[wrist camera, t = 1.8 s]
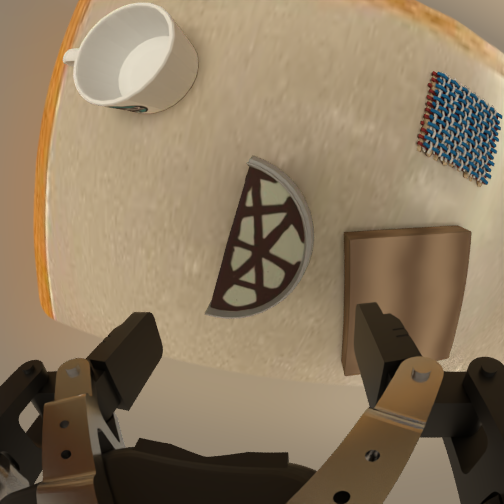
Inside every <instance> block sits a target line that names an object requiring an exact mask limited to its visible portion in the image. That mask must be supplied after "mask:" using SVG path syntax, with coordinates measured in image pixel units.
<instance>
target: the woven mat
mask: <svg viewBox="0 0 504 504" xmlns="http://www.w3.org/2000/svg"><path fill="white" fill-rule="evenodd" d="M432 75H433V77H432V78H431V80H432V84H431V83H429V84H428V86H429V87H430V88H431V89H430V90H429V92H430V95H427V98H428V99H429V100H428V101H427V108H426V109H425V111H426V113H425V114H424V117H425V118H424V121H421V125H423V127H422V128H421V134H419V136H418V137H419V141H418V143H417V144H418V147H417V151H419V152H420V151H421V148H423V151H424V152H425V151H426V150H427V152H426V155H427V156H428V157H430V156H431V154H432V153H433V154H434V158H433V159H434V160H436V161H437V160H438V157H441V159H440V160H441V161H442V163H443V165H447V161H449V166H451V167H453V166H455V169H456V170H458V171H461V170H462V171H464V174H463V176H464V177H465V178H467V177H468V176H469V175H470V178H469V180H470V181H472V178H476V179H477V185H478V186H479V187H481V185H482V183H484V184H486V185H487V184H488V181H486V179H485V178H486V177H488V178H490V179H491V175H490V174H488V173H486V172H485V171H487V172H491V169H490V168H489V167H488V165H489V166H491V165H492V166H494V163H493V162H492V161H490V160H493V159H494V157H493V156H492V155H491V154H492V152H494V153H495V154H496V153H497V151H496V150H495V149H493V148H494V147H496V144H494V142H495V140H496V141H497V142H499V139H498V138H497V137H495V136H498V133H497V132H496V131H497V130H501V127H500V126H498V124H500V121H498V117H500V118H501V119H502V115H501V114H499V113H497V112H496V110H495V108H493V107H494V106H493V105H492V106H491V107H490V106H489V104H488V106H487V105H486V102H484V98H483V99H482V100H481V99H480V97H479V96H478V95H477V96H478V98H477V96H476V93H475V92H474V93H472V92H471V91H470V89H469V88H468V90H467V88H466V87H467V86H466V85H465V86H464V87H462V83H460V85H459V84H458V83H457V82H456V79H455V78H454V80H451V77H450V76H449V75H448V77H447V76H446V73H445V72H444V74H443V73H442V72H441V73H440V72H438V73H436V72H434V71H433V72H432ZM446 89H447V90H446ZM446 99H447V100H446ZM453 100H454V101H453ZM433 101H434V102H433ZM461 105H462V106H461ZM451 112H452V113H451ZM431 114H432V115H431ZM433 115H434V117H433ZM473 120H474V121H473ZM430 121H432V123H431V122H430ZM438 125H439V127H438ZM485 129H486V130H485ZM446 130H447V131H446ZM436 132H438V133H436ZM426 134H428V136H427V135H426ZM453 134H454V135H455V136H454V135H453ZM434 138H435V139H436V140H434ZM470 138H471V139H470ZM424 140H425V142H424ZM451 141H453V142H454V144H453V143H452V142H451ZM483 141H484V142H483ZM427 143H428V144H427ZM491 147H493V148H491ZM450 148H452V150H451V149H450ZM425 149H426V150H425ZM466 150H467V151H468V152H466ZM448 154H449V155H450V156H451V157H450V156H449V155H448ZM482 154H483V155H482ZM472 155H473V156H472ZM464 157H466V158H467V159H465V158H464ZM488 158H489V159H490V160H488ZM463 163H464V164H465V165H463ZM486 164H487V165H486ZM479 166H480V168H479ZM476 172H478V174H477V173H476ZM484 177H485V178H484Z"/></svg>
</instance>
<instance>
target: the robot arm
mask: <svg viewBox="0 0 504 504" xmlns="http://www.w3.org/2000/svg"><path fill="white" fill-rule="evenodd" d="M162 353H163V346H162V342H161V339H160V336H159V332H158V329H157V325H156V322H155V318H154V316H153V314H152V313H150V312H134V313H132V314H131V315H130V316H129V317H128V318H127V319H126V320H125V322H124V323H123V324H121V325H120V326H118V327H116V328H115V329H114V330H113V331H112V332H111V333H110V334H109V335H108V337H106V338H105V339H104V340H103V342H101V343H100V344H99V345H98V346H97V347H96V348H95V349H94V351H93V352H92V353H91V354H90V355H89V356H88V357H87V358H86V359H84V358H75V359H71V360H68V361H66V362H65V363H63V364H62V365H61V366H60V367H59V368H58V370H57V371H54V372H47V371H46V369H45V367H44V365H43V363H42V362H41V361H39V360H31V361H28V362H26V363H24V364H23V365H21V366H20V367H19V368H18V369H17V370H16V371H15V372H14V373H13V374H12V375H11V376H10V377H9V378H8V379H7V380H6V381H5V382H4V383H3V384H2V385H1V386H0V504H383V502H384V501H385V499H386V498H387V496H388V494H389V493H390V491H391V490H392V488H393V487H394V485H395V483H396V482H397V480H398V478H399V476H400V475H401V473H402V471H403V469H404V467H405V466H406V464H407V462H408V460H409V458H410V456H411V454H412V452H413V450H414V448H415V446H416V444H417V442H418V440H419V438H420V437H442V438H443V441H444V444H445V447H446V450H447V454H448V457H449V460H450V464H451V467H452V471H453V474H454V478H455V482H456V486H457V490H458V494H459V498H460V502H461V504H504V365H503V364H502V363H501V362H500V361H498V360H496V359H494V358H490V357H479V358H476V359H474V360H473V361H472V362H471V363H470V364H469V367H468V369H467V372H445V371H443V368H442V366H441V365H440V364H439V363H438V362H437V361H435V360H433V359H431V358H428V357H423V356H422V355H421V353H420V351H419V350H418V348H417V346H416V345H415V343H414V341H413V340H412V338H411V337H410V336H409V333H408V332H407V330H406V329H405V327H404V325H403V324H402V322H401V321H400V319H398V318H397V317H395V316H394V315H392V314H391V313H388V314H383V312H382V310H381V309H380V307H379V305H378V304H377V302H371V303H361V304H357V305H356V312H355V328H354V353H355V357H356V360H357V363H358V367H359V370H360V373H361V377H362V380H363V384H364V387H365V391H366V395H367V398H368V402H369V406H370V407H369V408H368V409H367V410H366V411H365V412H364V413H363V415H362V416H361V418H360V419H359V420H358V421H357V423H356V424H355V426H354V427H353V428H352V430H351V431H350V432H349V434H348V435H347V436H346V438H345V439H344V440H343V441H342V443H341V444H340V445H339V446H338V447H337V449H336V450H335V451H334V452H333V454H332V455H331V456H330V457H329V458H328V459H327V461H326V462H325V463H324V464H323V465H322V466H321V468H320V469H319V470H318V471H316V470H313V469H311V468H308V467H305V466H302V465H298V464H293V463H289V457H288V452H287V453H286V452H285V453H284V452H282V453H261V452H260V453H259V452H246V453H238V454H231V455H223V456H214V457H204V456H201V455H198V454H195V453H192V452H190V451H187V450H185V449H182V448H179V447H177V446H174V445H172V444H168V443H162V442H156V441H152V440H147V439H142V438H139V440H138V442H137V443H136V445H135V447H128V448H125V445H124V442H123V438H122V434H121V430H120V426H119V422H118V418H117V416H116V414H115V412H114V411H115V410H116V408H118V409H123V410H128V411H129V410H130V408H131V406H132V405H133V403H134V401H135V400H136V398H137V396H138V395H139V393H140V392H141V390H142V388H143V387H144V385H145V383H146V382H147V380H148V379H149V377H150V375H151V374H152V372H153V370H154V369H155V367H156V365H157V364H158V362H159V361H160V359H161V357H162ZM30 401H31V402H32V403H33V405H34V407H35V408H36V410H37V411H38V412H39V414H40V415H39V416H38V418H37V419H36V420H35V421H34V423H33V424H32V425H31V427H30V428H29V429H28V431H27V432H26V433H25V432H24V430H23V429H22V428H21V426H20V424H19V415H20V413H21V412H22V411H23V410H24V408H25V407H26V406H27V404H28V403H29V402H30ZM42 470H43V481H42V482H39V483H37V484H34V483H35V481H36V479H37V478H38V476H39V474H40V473H41V471H42Z"/></svg>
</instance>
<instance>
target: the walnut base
mask: <svg viewBox="0 0 504 504" xmlns="http://www.w3.org/2000/svg"><path fill="white" fill-rule="evenodd" d="M470 245H471V231H469V230H467V229H464V228H462V227H460V226H440V227H422V228H405V229H388V230H373V231H357V232H344V253H345V291H344V325H343V344H342V359H341V361H342V366H343V370H344V375H345V376H350V375H359V374H361V373H360V370H359V367H358V363H357V360H356V357H355V353H354V328H355V312H356V305H357V304H361V303H371V302H377V304H378V305H379V307H380V309H381V310H382V312H383V314H388V313H391V314H392V315H394V316H395V317H397V318H398V319H400V321H401V322H402V324H403V325H404V327H405V329H406V330H407V332H408V333H409V336H410V337H411V338H412V340H413V341H414V343H415V345H416V346H417V348H418V350H419V351H420V353H421V355H422V356H423V357H428V358H431V359H433V360H435V361H438V360H442V359H447V358H449V354H450V351H451V348H452V344H453V340H454V337H455V333H456V329H457V324H458V320H459V316H460V311H461V306H462V301H463V296H464V290H465V284H466V278H467V271H468V263H469V255H470Z"/></svg>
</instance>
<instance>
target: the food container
mask: <svg viewBox="0 0 504 504" xmlns="http://www.w3.org/2000/svg"><path fill="white" fill-rule="evenodd" d="M247 164H248V166H249V170H248V173H247V175H246V180H245V184H244V188H243V191H242V194H241V198H240V201H239V204H238V208H237V211H236V215H235V218H234V222H233V225H232V228H231V231H230V235H229V238H228V242H227V245H226V249H225V253H224V257H223V261H222V264H221V268H220V271H219V275H218V279H217V282H216V286H215V290H214V293H213V297H212V300H211V302H210V304H209V306H208V308H207V310H206V312H205V314H206V315H209V316H213V317H219V318H227V319H229V318H244V317H250V316H253V315H256V314H259V313H262V312H264V311H266V310H268V309H270V308H272V307H274V306H276V305H277V304H278V303H280V302H281V301H283V300H284V299H285V298H286V297H287V296H288V295H289V294H290V293H291V292H292V291H293V290H294V289H295V287H296V286H297V284H298V283H299V282H300V280H301V278H302V276H303V275H304V272H305V270H306V268H307V266H308V264H309V261H310V258H311V254H312V251H313V242H314V230H313V221H312V217H311V213H310V210H309V207H308V205H307V202H306V200H305V198H304V196H303V195H302V193H301V191H300V190H299V188H298V187H297V185H296V184H295V183H294V182H293V181H292V180H291V179H290V178H289V176H288V175H286V174H285V173H284V172H283V171H281V170H280V169H279V168H278V167H276V166H275V165H273V164H271V163H269V162H268V161H266V160H264V159H261V158H258V157H256V156H252V157H251V158H250V159H249V162H247Z"/></svg>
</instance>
